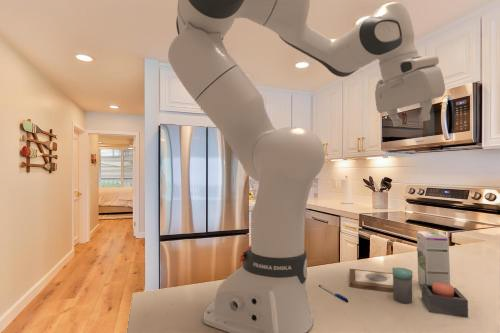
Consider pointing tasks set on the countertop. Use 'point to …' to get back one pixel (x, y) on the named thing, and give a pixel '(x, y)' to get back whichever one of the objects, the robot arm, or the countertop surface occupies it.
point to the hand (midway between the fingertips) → (410, 123)
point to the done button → (442, 289)
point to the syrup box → (433, 258)
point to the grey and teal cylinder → (402, 285)
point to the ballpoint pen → (334, 294)
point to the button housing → (445, 302)
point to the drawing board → (371, 280)
